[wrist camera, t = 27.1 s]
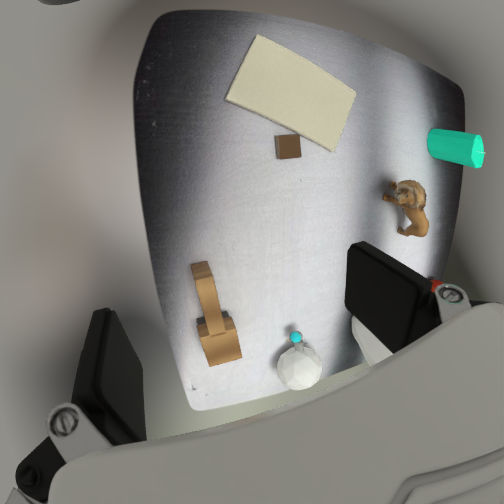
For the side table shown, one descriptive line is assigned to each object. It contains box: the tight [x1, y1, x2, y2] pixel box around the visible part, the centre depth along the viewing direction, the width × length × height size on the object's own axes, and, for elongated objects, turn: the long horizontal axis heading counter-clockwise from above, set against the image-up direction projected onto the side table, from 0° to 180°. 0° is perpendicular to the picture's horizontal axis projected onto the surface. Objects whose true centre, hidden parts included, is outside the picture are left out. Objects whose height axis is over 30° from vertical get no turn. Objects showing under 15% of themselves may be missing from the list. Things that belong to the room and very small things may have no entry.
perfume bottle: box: [277, 331, 323, 390], centre depth 43 cm, size 8×8×12 cm
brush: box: [191, 261, 242, 367], centre depth 36 cm, size 14×5×5 cm, turn 8°
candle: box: [427, 129, 486, 168], centre depth 35 cm, size 6×6×12 cm
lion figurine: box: [383, 180, 429, 237], centre depth 38 cm, size 15×5×9 cm, turn 49°
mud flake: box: [275, 134, 301, 159], centre depth 32 cm, size 3×3×1 cm
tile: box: [224, 34, 357, 152], centre depth 30 cm, size 16×10×1 cm, turn 68°
